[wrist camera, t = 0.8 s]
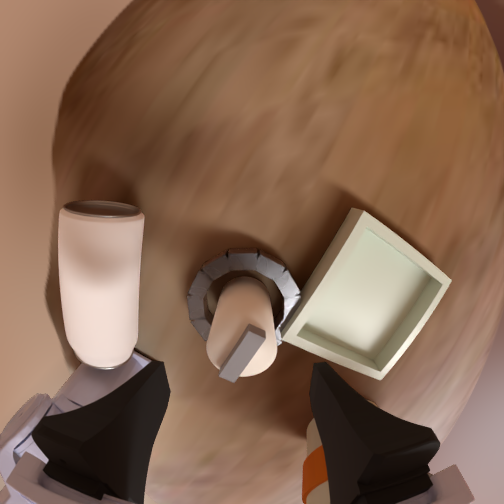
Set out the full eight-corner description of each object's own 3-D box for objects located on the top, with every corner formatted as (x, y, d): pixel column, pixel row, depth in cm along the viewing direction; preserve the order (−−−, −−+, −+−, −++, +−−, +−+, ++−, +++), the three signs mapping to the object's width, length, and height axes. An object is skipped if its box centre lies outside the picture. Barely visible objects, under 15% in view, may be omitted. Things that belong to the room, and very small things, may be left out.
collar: (263, 358, 23) (264, 369, 21) (176, 315, 22) (171, 324, 20) (317, 280, 21) (321, 287, 19) (222, 228, 20) (219, 231, 18)
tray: (371, 365, 23) (380, 380, 21) (278, 323, 22) (281, 339, 19) (436, 272, 21) (451, 280, 18) (351, 207, 20) (364, 210, 17)
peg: (254, 329, 22) (255, 393, 14) (211, 308, 22) (193, 367, 14) (279, 290, 21) (292, 346, 14) (234, 267, 21) (224, 315, 13)
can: (137, 202, 21) (129, 325, 24) (63, 198, 17) (67, 328, 20) (155, 218, 16) (147, 369, 19) (54, 214, 12) (71, 375, 15)
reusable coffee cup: (275, 449, 26) (281, 552, 12) (319, 380, 23) (358, 515, 9) (359, 452, 27) (386, 535, 13) (411, 389, 24) (467, 480, 10)
